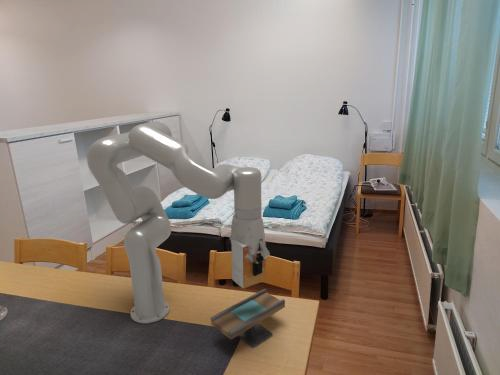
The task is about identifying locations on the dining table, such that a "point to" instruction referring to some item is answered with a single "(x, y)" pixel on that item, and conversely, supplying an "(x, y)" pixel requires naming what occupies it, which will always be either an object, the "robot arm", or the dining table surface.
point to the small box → (245, 266)
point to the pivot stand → (255, 335)
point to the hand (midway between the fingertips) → (248, 269)
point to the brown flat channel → (246, 313)
